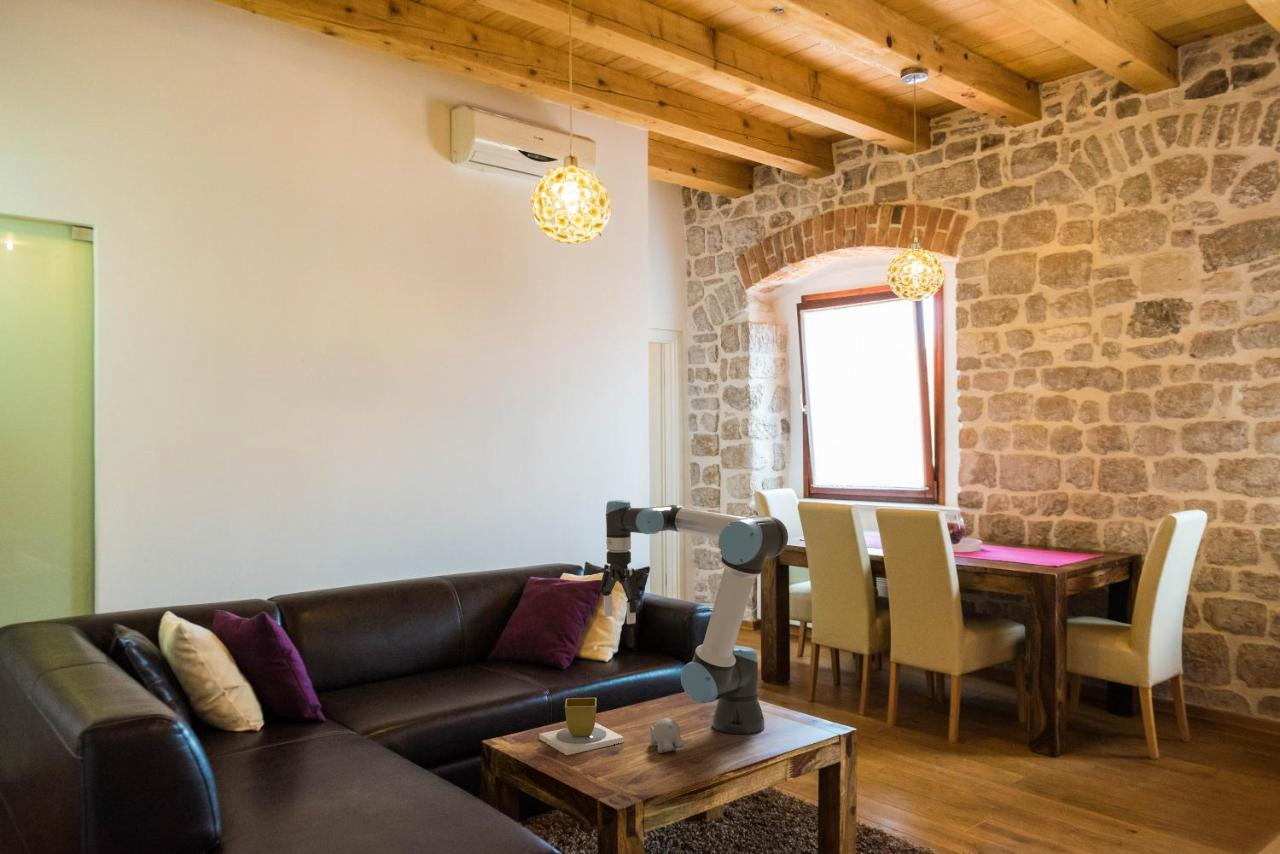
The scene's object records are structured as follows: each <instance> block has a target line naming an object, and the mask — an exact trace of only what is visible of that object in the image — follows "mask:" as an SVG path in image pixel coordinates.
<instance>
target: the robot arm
mask: <svg viewBox="0 0 1280 854" xmlns="http://www.w3.org/2000/svg"><path fill="white" fill-rule="evenodd" d="M605 509H606V510H605V523H606V526H605V527H606V528H605V529H606V531H605V532H606V541H605V542H606V550H607V552H606V564H604V565H603V567H604V568H603V573H602V574H603V575H602V577H601V581H600V585H599V588H598V590H599V591H598V592H599V593H601V595H602V596H603V597H602V598H603V617H604V618H606V617H613V590H614V587H615V586H616V584H617V582H618V583H619V584H620V585H621V586H622V589H623V591H624V594H625V596H626V599H627V600H626V624H627V625H631V624H636V621H637V620H636V618H637V617H636V612H637V602H638V601H640V600H641V596H640V591H639V587H638V584H637V581H636V577H635V569H634V568H633V567H632V568H631V567H630V568H629V567H628V565H629V564H631V563H632V552H631V551H630V550H631V549H632V541H631V540H632V538H631V537H632V536H631V535H632V533H634V534H635V533H636V534H644V535H655V534H658V533H660V532H664V531H665V532H666V531H672V532H678V533H685V534H690V535H695V536H700V537H706V538H713V539H718V548H719V550H720V551H719V553H720V555H721V558H720V562H721V564H722V565H723V567H724V568H723V572H722V575H721V579H720V583H719V586H718V589H717V590H718V591H717V594H716V597H715V600H714V603H713V608H712V611H711V614H710V618H709V620H708V624H707V628H706V632H705V636H704V640H703V643H702V644H700V645H698V646H697V647H696V648H695V652H694V654H693V658H692V661H690V662H688V663H686V664H685V665H684V666H683V667H682V669H681V673H680V682H681V686H682V688H683V690H684V693H685V694H686V695H687V696H688V698H689V699H690V700H692V701H693V702H695V703H697V704H708V703H713V702H715V701H716V705H715V708H714V714H713V715H712V719H711V720H712V722H711V723H712V728H714V729H715V730H716V731H719V732H722V733H727V734H731V735H732V734H734V735H744V734H746V735H747V734H754V733H758V732H760V731H762V730H764V728H765V717H764V713H763V712H762V708H761V704H760V702H759V679H758V678H759V673H758V672H759V671H758V669H759V667H758V664H759V661H758V652H757V651H756V649H754V648H752V647H750V646H743V645H736V642H737V639H738V636H739V632H740V630H741V629H740V628H741V626H742V621H743V618H744V616H745V615H744V614H745V611H746V608H747V604H748V601H749V598H750V595H751V592H752V591H751V590H752V588H753V585H754V580H755V578H756V577H757V576H759V575H761V574H762V573H763V572H764V571H763V570H764V567H765V565H766V564H765V563H766V560H767V559H771V558H776V557H777V556H779V555H781V554H782V553H783V552H784V551H785V549H786V547H787V546H788V542H789V533H788V529H787V527H786V525H785V524H784V522H782V521H781V520H780V519H779V518H777V517H774V516H770V515H768V516H767V515H764V516H763V515H756V514H754V515H750V516H749V517H746V516H739V515H733V514H726V513H720V512H714V511H713V512H712V511H706V510H699V509H694V508H687V507H685V506H683V505H680V504H679V505H678V504H677V505H676V504H671V505H665V506H653V507H632V506H631V502H630V500H625V499H624V500H623V499H621V500H619V499H617V500H616V499H615V500H609V501H607V502H606V508H605Z"/></svg>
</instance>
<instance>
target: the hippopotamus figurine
mask: <svg viewBox="0 0 1280 854" xmlns="http://www.w3.org/2000/svg"><path fill="white" fill-rule="evenodd" d="M680 728H681V727H680V726H679V724H678V723H677V722H676V721H675V720H674V719H672V718H667V717H664V718H661V719H660V720H658V721H657V722H656V723H655V725H654V727H652V726H649V730H650V732H649V734H650V735H649V736H650V737H649V742H650V745H651V746H653V747H657V752H658V753H659V754H663V753H667V752H673V751H676V750H677V749H682V748H684V746H685V743H684V741H683V739H682V737H681V729H680Z"/></svg>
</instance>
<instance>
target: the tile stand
mask: <svg viewBox="0 0 1280 854" xmlns="http://www.w3.org/2000/svg"><path fill="white" fill-rule="evenodd" d="M539 740H541V741H542V742H544V743H545V742H546V743H545V744H547V745H549V746H550V747H551V748H553V749H555V750H557V751H558V752H560V753H562V754H563V753H564V754H563V755H566V756H569V755H574V754H578V753H583V752H586V751H591V750H596V749H600V748H605V747H611V746H615V745H619V744H624V743H625V736H623V735H621V734H619V733H617V732H615V731H614V730H611V729H609V728H607V727H605V726H604V725H601V724H599V723H597V722H596V721H595V726H594V729H593V732H592V734H591V736H579V737H573V736H572V735H571V734H570V732H569V729H568V727H566V728H565V727H564V728H561V729H556V730H551V731H546V732H541V733H539ZM623 742H624V743H623ZM618 743H619V744H618ZM614 744H615V745H614Z"/></svg>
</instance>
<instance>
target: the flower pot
mask: <svg viewBox="0 0 1280 854" xmlns="http://www.w3.org/2000/svg"><path fill="white" fill-rule="evenodd" d="M597 700H598V699H597V697H574V698H573V697H569V698H565V703H564V710H565V711H564V712H565V721H566V725H567V727H566V728H568V729H569V732H570V734H571V735H572V736H573V737H579V736H591V734H592V732H593V729H594V726H595V722H596V719H597V717H596V716H597Z"/></svg>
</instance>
